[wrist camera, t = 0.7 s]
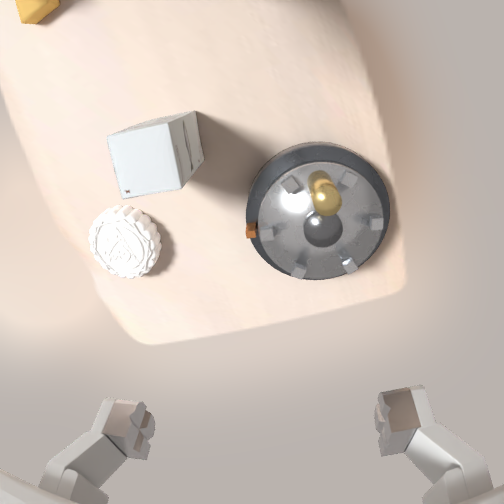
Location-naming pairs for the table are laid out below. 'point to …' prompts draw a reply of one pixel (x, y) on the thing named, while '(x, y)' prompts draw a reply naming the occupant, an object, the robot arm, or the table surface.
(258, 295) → the table surface
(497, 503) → the robot arm
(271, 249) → the studded round base
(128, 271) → the mooncake
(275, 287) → the table surface
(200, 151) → the supplement box
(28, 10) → the rubber stamp
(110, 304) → the table surface
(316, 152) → the grey round platform
